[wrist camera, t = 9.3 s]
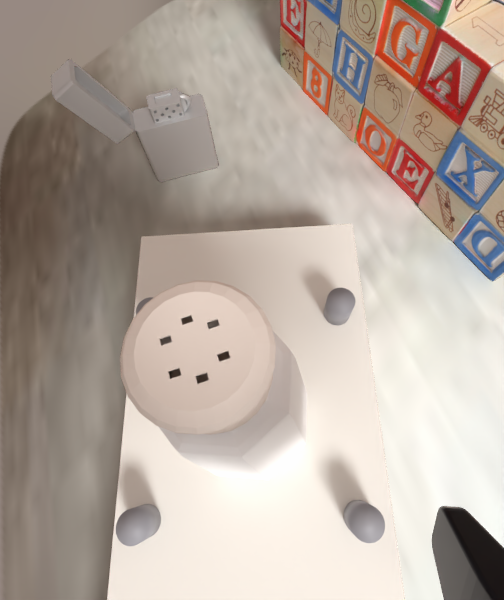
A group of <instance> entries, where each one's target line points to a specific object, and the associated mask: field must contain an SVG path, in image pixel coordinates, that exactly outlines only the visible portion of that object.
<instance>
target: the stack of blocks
mask: <svg viewBox="0 0 504 600" xmlns="http://www.w3.org/2000/svg"><path fill="white" fill-rule="evenodd" d="M280 18H281V26H280V56H281V67H282V68H283V69H284V70H285V71H286V72H287V73H288V74H289V75H290V76H291V77H292V78H293V79H294V80H295V81H296V82H297V83H298V84H299V85H300V86H301V88H303V91H304V92H305V93H306V94H307V95H308V96H309V97H310V98H311V99H312V100H313V101H314V102H315V103H316V105H317V106H318V107H319V108H320V109H321V110H322V111H323V112H324V113H325V114H326V115H328V116H329V118H330V119H331V120H332V121H333V122H334V123H335V124H336V125H337V126H338V127H339V128H340V130H341V131H342V132H343V133H344V134H345V135H346V136H347V137H348V138H349V139H350V140H351V141H352V142H354V143H357V144H358V145H359V147H360V148H361V149H362V150H364V151H365V153H367V154H368V155H369V157H370V158H371V159H372V160H373V161H374V162H375V163H376V164H377V165H378V166H379V167H380V168H381V169H382V170H383V171H385V172H387V173H388V175H389V176H390V177H391V178H392V179H393V180H394V181H395V182H396V183H397V184H398V185H399V186H400V187H401V188H402V189H403V190H404V191H405V192H406V193H407V194H408V195H409V196H410V197H411V198H412V199H413V200H414V201H415V202H416V203H418V204H419V205H418V206H419V208H420V209H421V210H422V211H423V212H424V213H425V214H426V215H427V216H428V217H429V218H430V219H431V220H432V221H433V222H434V223H435V224H436V225H437V227H438V228H439V229H440V230H441V231H442V232H443V233H444V234H445V235H446V236H447V237H448V238H449V239H450V240H451V241H453V242H454V243H455V244H456V246H457V247H458V248H459V249H460V250H461V251H462V252H463V253H464V254H465V255H466V256H467V257H468V258H469V259H470V260H471V261H472V262H473V263H474V264H475V265H476V266H477V267H478V268H479V269H480V270H481V271H482V272H483V273H484V274H485V275H486V276H487V277H488V278H489V279H490V280H492V281H495V280H496V279H498V278H499V277H501V276H502V275H504V0H280Z"/></svg>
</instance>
